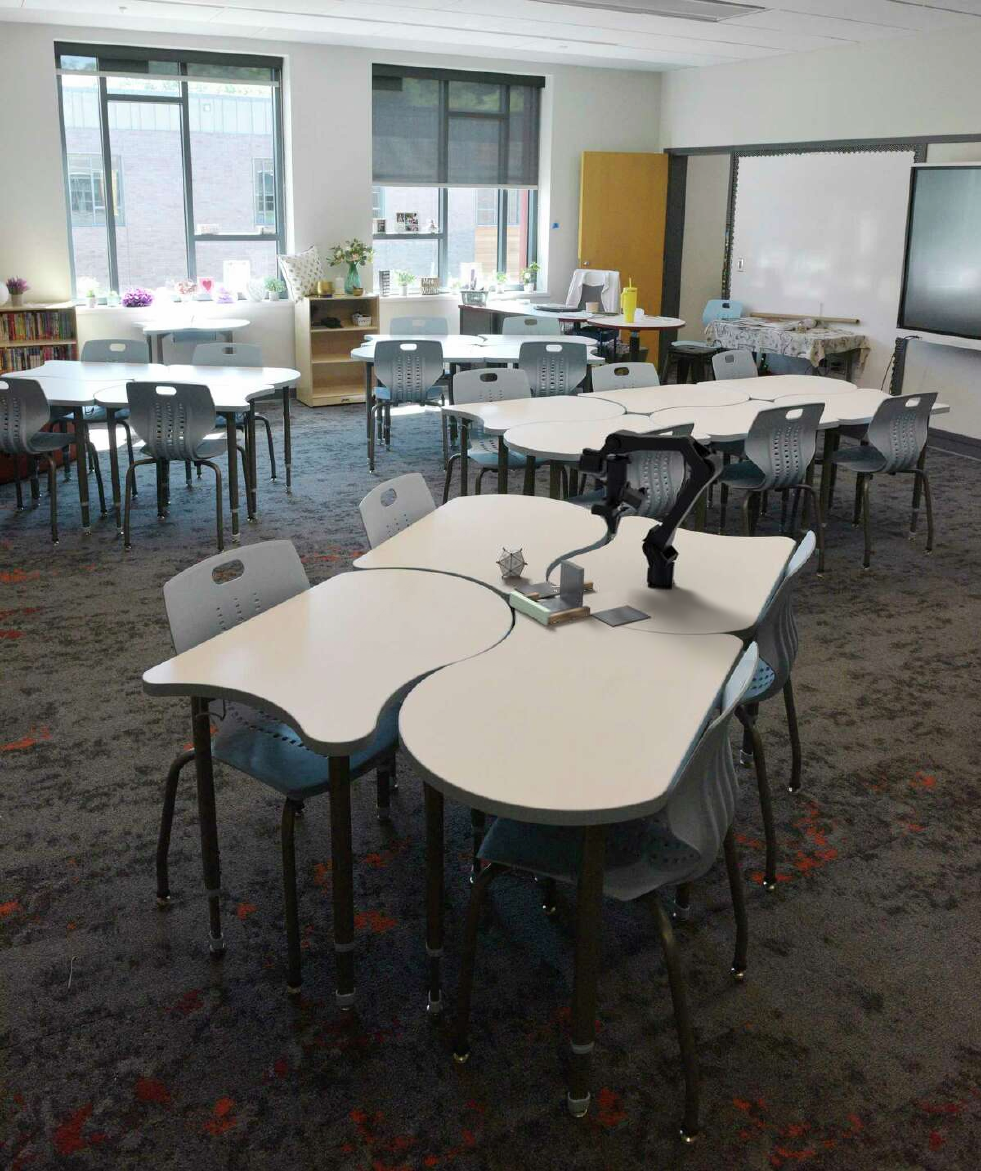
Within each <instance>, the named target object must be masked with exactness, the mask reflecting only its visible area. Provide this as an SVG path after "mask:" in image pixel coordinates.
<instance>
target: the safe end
mask: <svg viewBox="0 0 981 1171" xmlns="http://www.w3.org/2000/svg"><path fill="white" fill-rule="evenodd" d="M523 595H524V594H522V593H520V592H518V591H516V590H515V591H510V592H509V606H511V607H512V608H514V609H516V610H518V611H519V612H521V613H523V614H524V613H526V614H528V615H529V616H528V615H527V616H528V617H530V616H531V617H530V618H532V617H534V618H535V619H537V620H538V623H540V622H542V623H543V625H544V624H545V625H544V626H548V625H547V623H548V617H551V611H550V610H549V609H547V608H545V607H543V606H541V605H539V604H537V603H536V602H534V601H532V600H530V599H528V598H526V597H525V596H523ZM526 614H525V615H526ZM535 619H534V620H535ZM537 620H536V621H537ZM542 623H541V624H542Z"/></svg>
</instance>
